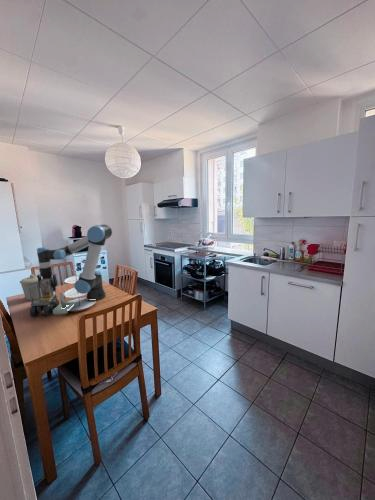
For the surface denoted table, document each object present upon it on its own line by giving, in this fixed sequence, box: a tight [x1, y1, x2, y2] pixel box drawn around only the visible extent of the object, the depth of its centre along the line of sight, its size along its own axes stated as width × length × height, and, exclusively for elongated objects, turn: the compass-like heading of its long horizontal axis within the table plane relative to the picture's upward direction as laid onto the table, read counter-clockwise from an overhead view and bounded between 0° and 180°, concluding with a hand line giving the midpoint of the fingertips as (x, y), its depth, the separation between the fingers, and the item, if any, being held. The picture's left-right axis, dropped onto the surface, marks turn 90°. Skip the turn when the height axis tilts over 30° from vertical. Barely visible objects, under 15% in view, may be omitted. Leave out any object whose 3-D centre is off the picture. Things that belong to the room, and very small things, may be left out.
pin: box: [59, 292, 67, 308], centre depth 157 cm, size 3×3×12 cm
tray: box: [52, 301, 75, 316], centre depth 158 cm, size 9×13×4 cm
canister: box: [19, 274, 43, 301], centre depth 183 cm, size 18×18×21 cm
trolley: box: [29, 283, 60, 317], centre depth 154 cm, size 12×16×22 cm
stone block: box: [39, 277, 57, 297], centre depth 168 cm, size 13×7×20 cm, turn 18°
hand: (49, 295), depth 169 cm, fingers closed on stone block, 6 cm apart
